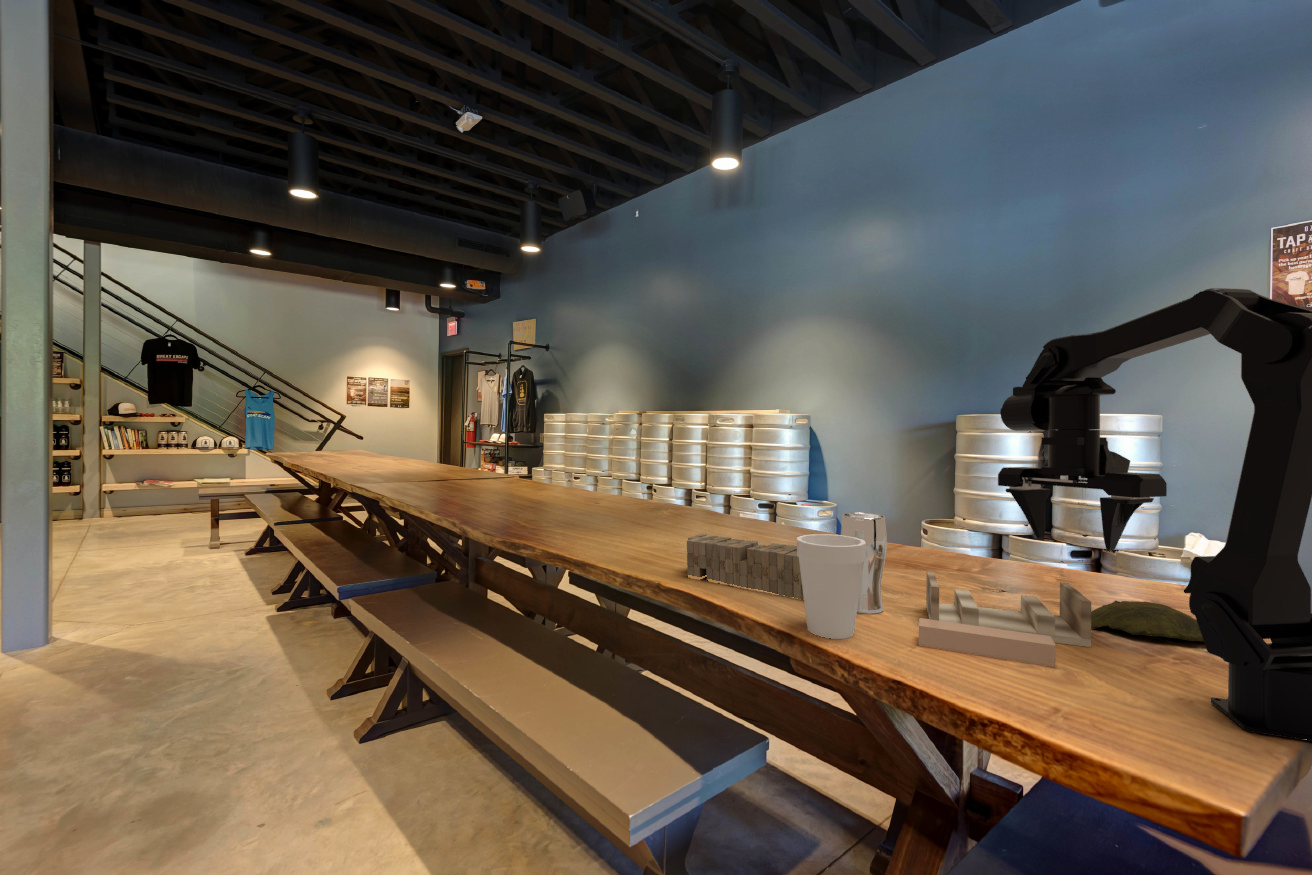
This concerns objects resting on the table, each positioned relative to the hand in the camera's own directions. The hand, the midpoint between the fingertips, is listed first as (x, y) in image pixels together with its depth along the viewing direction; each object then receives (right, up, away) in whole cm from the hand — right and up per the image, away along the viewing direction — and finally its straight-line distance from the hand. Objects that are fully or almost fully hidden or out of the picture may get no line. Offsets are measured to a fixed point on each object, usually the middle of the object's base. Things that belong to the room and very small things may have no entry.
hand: (1073, 543), depth 77 cm
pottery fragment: (+14, -14, +5) cm, 20 cm away
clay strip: (-15, -14, -4) cm, 21 cm away
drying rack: (-7, -13, +5) cm, 16 cm away
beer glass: (-24, -13, +14) cm, 30 cm away
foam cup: (-32, -13, +3) cm, 35 cm away
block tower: (-39, -13, +27) cm, 49 cm away
